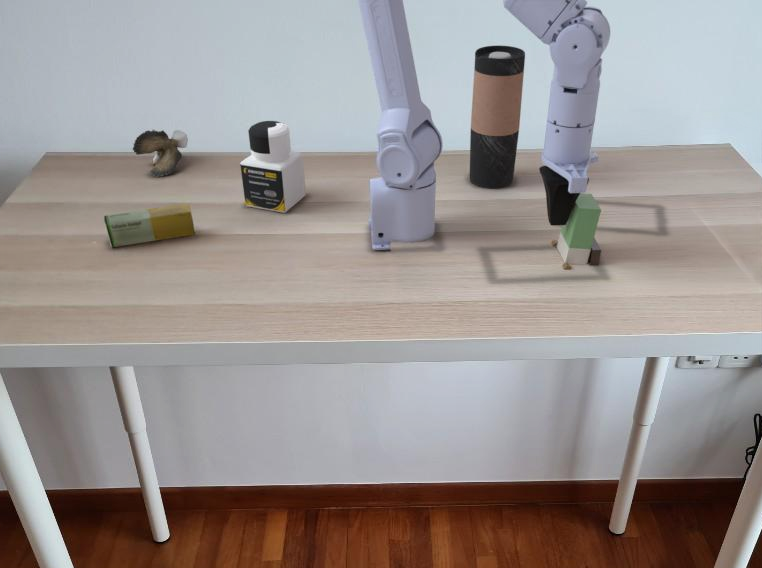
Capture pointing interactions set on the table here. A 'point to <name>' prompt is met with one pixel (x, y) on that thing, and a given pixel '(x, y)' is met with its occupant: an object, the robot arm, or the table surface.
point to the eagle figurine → (161, 149)
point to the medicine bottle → (272, 169)
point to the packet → (579, 230)
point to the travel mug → (495, 115)
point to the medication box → (149, 225)
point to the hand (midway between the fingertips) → (557, 223)
